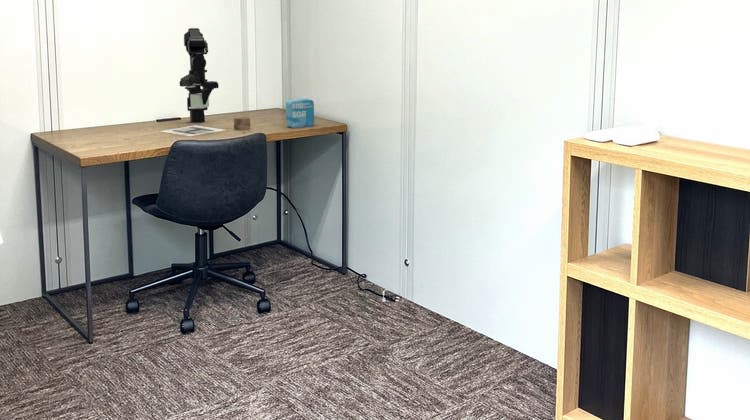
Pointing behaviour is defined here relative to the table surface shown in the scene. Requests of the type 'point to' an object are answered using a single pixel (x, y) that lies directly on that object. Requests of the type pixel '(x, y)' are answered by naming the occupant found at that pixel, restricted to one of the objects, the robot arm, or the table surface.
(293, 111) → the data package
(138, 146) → the table surface
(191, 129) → the board
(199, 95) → the sage cube
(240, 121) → the walnut block
